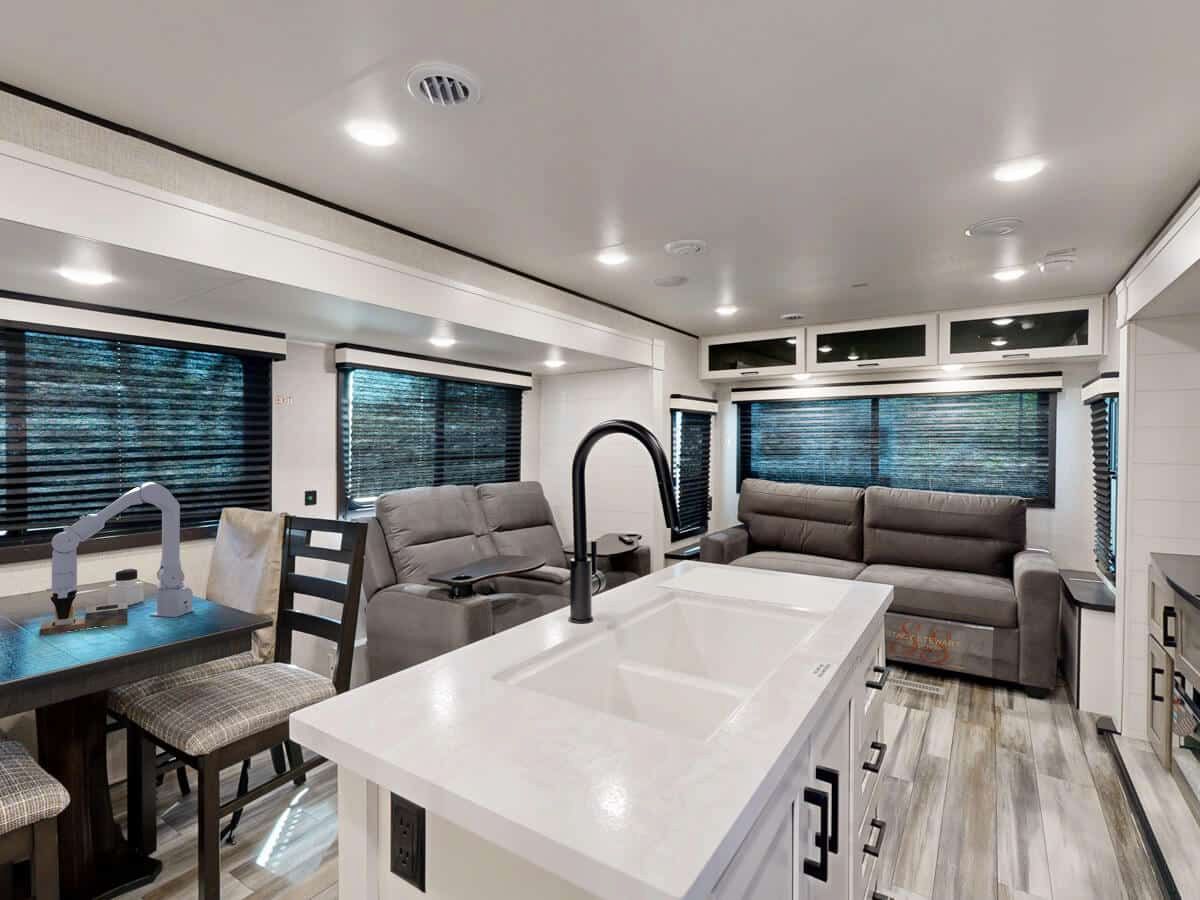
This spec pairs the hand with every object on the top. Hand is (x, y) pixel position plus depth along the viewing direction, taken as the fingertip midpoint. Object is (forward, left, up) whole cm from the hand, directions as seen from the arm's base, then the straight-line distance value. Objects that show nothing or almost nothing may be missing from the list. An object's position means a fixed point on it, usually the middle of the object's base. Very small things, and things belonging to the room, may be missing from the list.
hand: (63, 617), depth 180 cm
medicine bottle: (+7, -28, -4) cm, 29 cm away
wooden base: (-4, -4, -4) cm, 6 cm away
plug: (0, 0, -3) cm, 3 cm away
